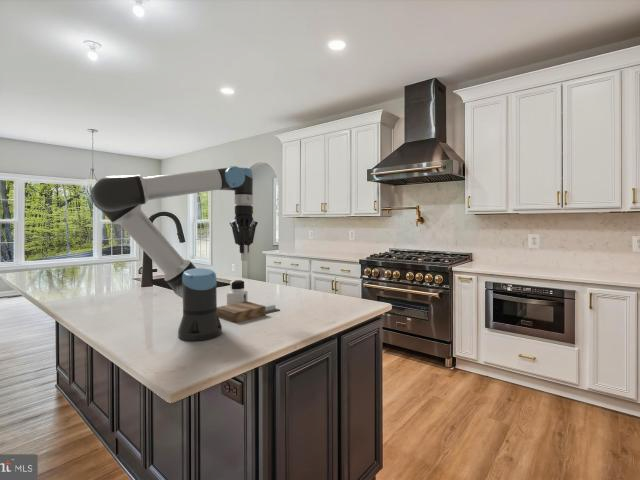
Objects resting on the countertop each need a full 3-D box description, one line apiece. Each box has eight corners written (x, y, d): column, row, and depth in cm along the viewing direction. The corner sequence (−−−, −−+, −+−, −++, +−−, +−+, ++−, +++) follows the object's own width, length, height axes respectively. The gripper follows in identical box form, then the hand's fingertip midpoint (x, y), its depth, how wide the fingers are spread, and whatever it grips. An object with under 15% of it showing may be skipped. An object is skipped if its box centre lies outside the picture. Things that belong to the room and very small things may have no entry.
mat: (262, 314, 159) (262, 313, 159) (249, 310, 166) (249, 309, 166) (279, 310, 167) (279, 309, 167) (266, 306, 173) (266, 306, 173)
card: (260, 312, 161) (259, 308, 161) (251, 310, 165) (251, 306, 165) (275, 309, 167) (275, 304, 167) (267, 306, 172) (267, 302, 171)
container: (247, 306, 175) (247, 279, 174) (242, 309, 167) (242, 282, 167) (232, 305, 176) (232, 279, 175) (226, 309, 168) (226, 281, 167)
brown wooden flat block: (234, 322, 146) (234, 313, 146) (215, 316, 156) (215, 307, 156) (265, 315, 158) (265, 306, 158) (246, 309, 168) (246, 301, 167)
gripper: (235, 204, 145) (236, 262, 146) (261, 205, 155) (262, 260, 156) (225, 204, 150) (226, 261, 151) (251, 205, 160) (251, 258, 161)
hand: (244, 260), depth 154 cm, fingers closed
